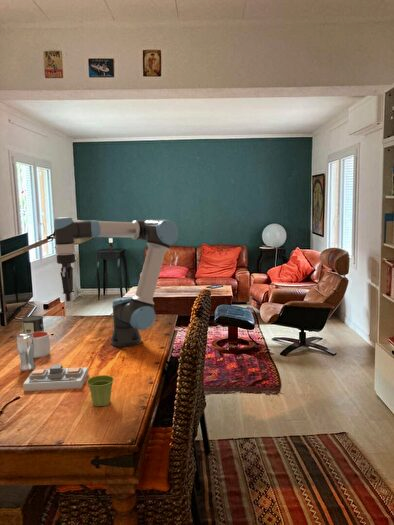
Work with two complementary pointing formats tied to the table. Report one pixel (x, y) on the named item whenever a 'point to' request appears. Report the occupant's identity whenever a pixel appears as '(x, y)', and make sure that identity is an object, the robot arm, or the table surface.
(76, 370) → the key
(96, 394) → the plant pot
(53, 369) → the key middle
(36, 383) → the console
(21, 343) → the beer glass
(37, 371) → the key
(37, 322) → the coffee can
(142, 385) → the table surface
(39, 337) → the cup
